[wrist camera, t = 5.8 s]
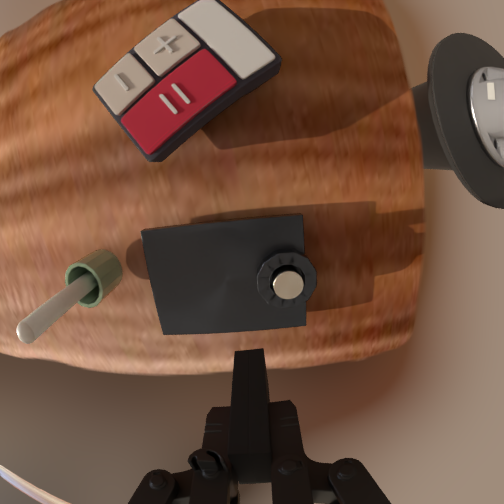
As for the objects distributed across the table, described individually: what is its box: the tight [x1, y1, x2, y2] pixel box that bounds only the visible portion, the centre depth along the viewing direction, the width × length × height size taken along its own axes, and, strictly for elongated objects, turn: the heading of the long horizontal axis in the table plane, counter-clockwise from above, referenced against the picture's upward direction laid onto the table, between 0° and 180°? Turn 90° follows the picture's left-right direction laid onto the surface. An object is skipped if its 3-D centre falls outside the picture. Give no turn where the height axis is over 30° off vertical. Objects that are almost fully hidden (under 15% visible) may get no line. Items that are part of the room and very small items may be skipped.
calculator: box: [93, 0, 282, 162], centre depth 21 cm, size 11×4×15 cm
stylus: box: [17, 271, 98, 344], centre depth 21 cm, size 2×2×15 cm
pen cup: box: [65, 249, 122, 308], centre depth 26 cm, size 5×5×5 cm
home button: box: [272, 267, 304, 299], centre depth 26 cm, size 3×3×1 cm
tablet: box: [141, 213, 317, 335], centre depth 28 cm, size 17×12×2 cm
